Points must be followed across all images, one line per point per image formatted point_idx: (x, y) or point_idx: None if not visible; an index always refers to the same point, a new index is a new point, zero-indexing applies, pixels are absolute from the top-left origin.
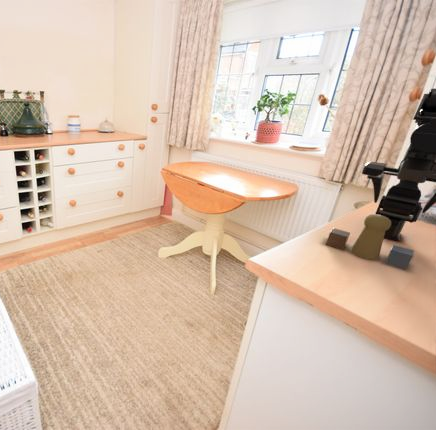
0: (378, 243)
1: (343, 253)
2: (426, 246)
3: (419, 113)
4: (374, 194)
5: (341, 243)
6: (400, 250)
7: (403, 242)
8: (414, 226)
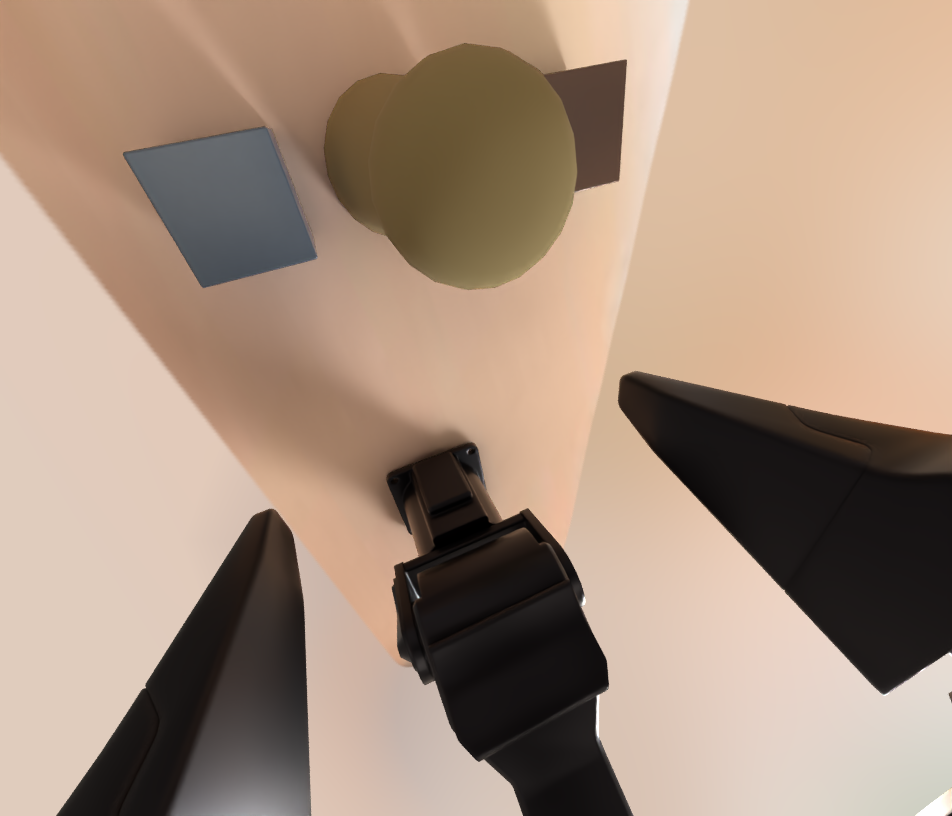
0: (358, 122)
1: (465, 20)
2: (313, 532)
3: None
4: (726, 392)
5: None
6: (230, 182)
7: (373, 487)
8: None
